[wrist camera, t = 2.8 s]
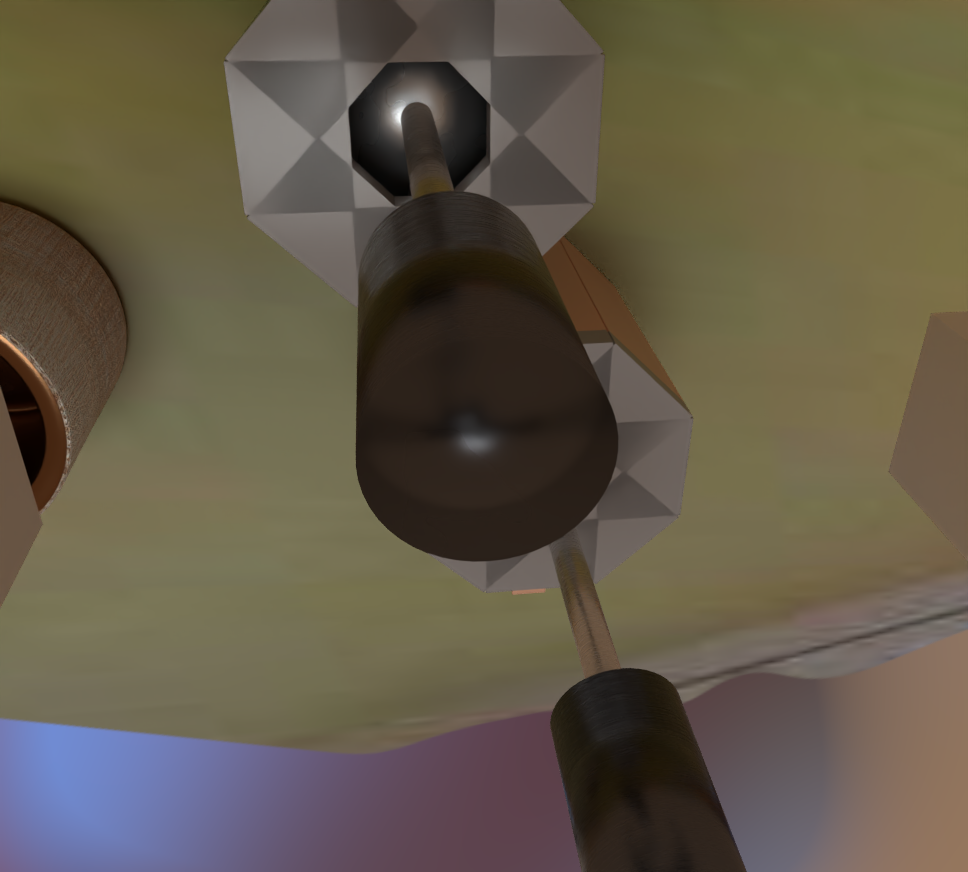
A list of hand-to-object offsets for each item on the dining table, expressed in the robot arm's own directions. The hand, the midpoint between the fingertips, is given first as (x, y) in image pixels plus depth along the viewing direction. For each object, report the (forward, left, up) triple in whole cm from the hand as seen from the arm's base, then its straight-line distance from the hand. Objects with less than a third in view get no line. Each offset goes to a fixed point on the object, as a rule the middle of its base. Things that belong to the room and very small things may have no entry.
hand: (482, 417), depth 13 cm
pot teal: (-1, 0, -28) cm, 28 cm away
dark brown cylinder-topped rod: (0, 0, -18) cm, 18 cm away
